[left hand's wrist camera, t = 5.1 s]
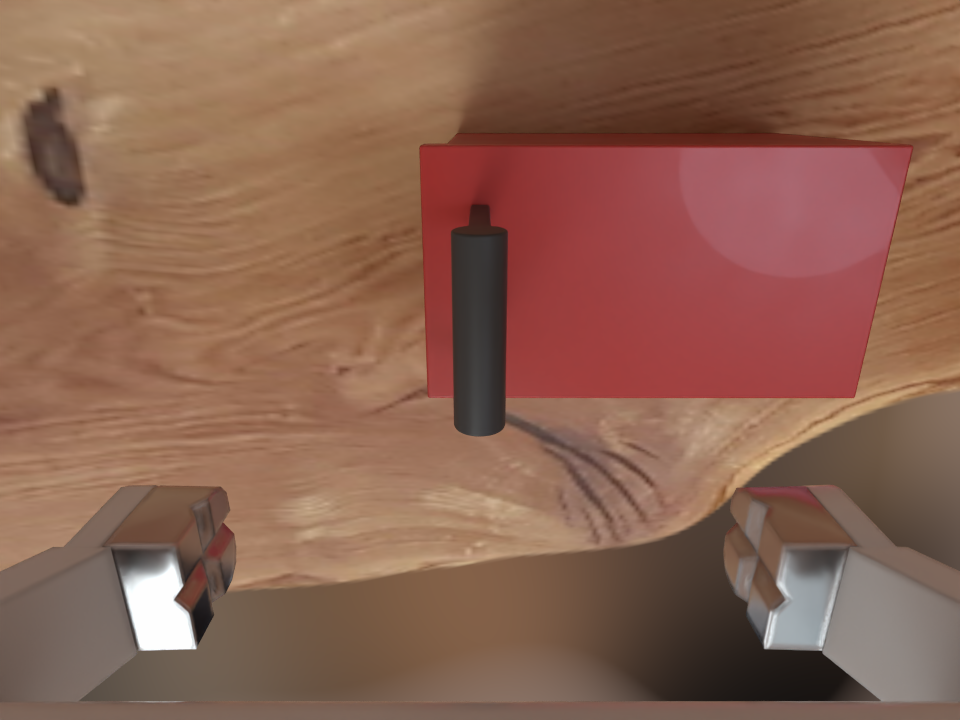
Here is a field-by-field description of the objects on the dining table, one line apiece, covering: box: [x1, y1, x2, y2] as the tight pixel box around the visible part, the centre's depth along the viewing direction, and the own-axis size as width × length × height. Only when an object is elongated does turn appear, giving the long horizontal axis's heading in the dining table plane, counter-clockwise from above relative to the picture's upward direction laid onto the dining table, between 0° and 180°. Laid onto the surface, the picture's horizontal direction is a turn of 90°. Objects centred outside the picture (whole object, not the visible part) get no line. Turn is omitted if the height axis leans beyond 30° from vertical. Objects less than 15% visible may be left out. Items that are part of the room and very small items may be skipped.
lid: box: [419, 143, 913, 436], centre depth 22 cm, size 18×10×8 cm, turn 90°
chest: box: [448, 133, 883, 144], centre depth 31 cm, size 17×10×10 cm, turn 90°
